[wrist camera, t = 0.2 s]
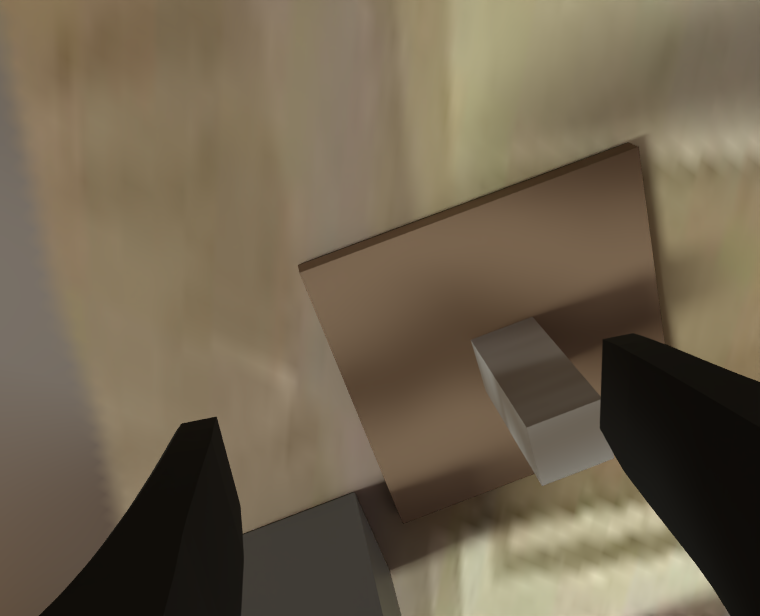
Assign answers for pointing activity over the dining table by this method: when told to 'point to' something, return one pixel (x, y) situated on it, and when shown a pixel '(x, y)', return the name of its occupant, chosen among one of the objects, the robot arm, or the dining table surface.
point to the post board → (492, 329)
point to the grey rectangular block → (317, 566)
